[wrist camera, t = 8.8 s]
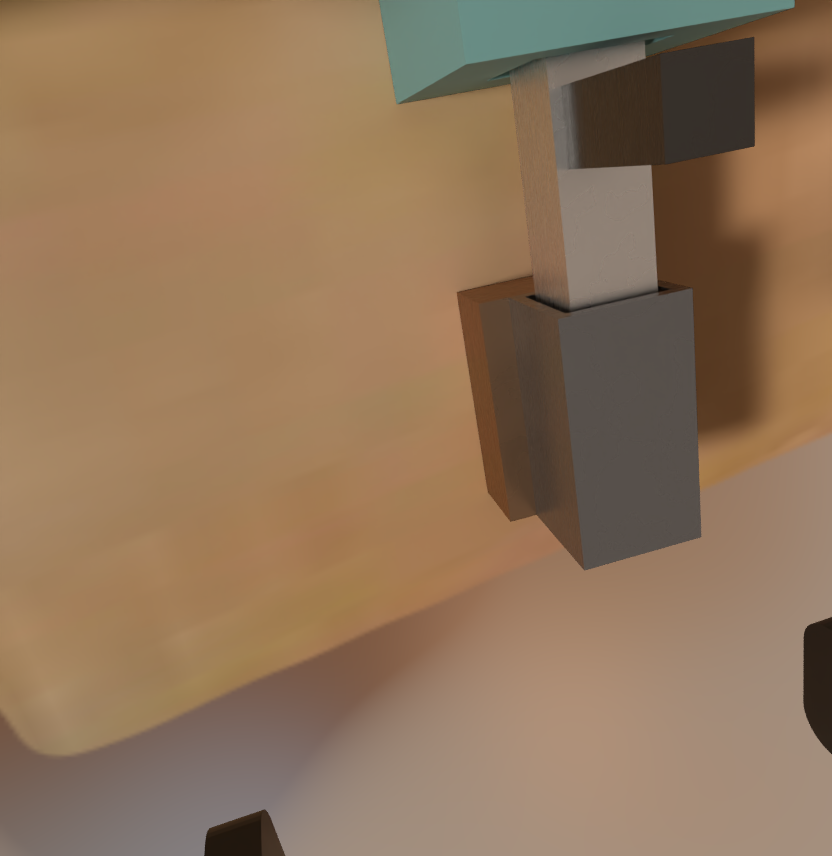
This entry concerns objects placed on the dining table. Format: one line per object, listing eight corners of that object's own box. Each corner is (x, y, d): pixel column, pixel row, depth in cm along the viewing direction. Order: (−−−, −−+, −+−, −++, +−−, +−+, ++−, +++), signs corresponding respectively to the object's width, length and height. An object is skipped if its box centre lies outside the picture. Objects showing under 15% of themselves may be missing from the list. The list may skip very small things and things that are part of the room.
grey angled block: (618, 347, 35) (768, 414, 25) (543, 366, 34) (664, 441, 24) (591, -21, 29) (770, -131, 19) (500, -6, 29) (635, -112, 19)
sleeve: (627, 455, 43) (729, 528, 34) (487, 492, 42) (554, 579, 32) (612, 258, 39) (725, 280, 29) (456, 292, 37) (522, 327, 28)
